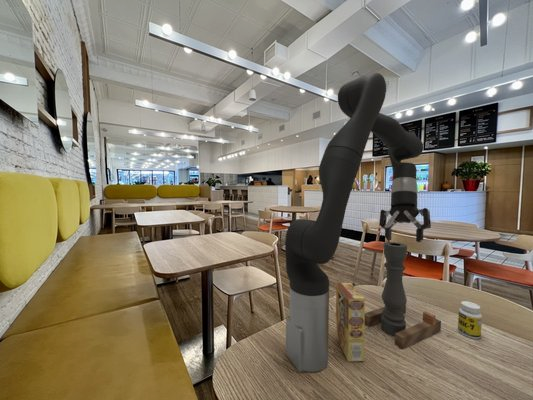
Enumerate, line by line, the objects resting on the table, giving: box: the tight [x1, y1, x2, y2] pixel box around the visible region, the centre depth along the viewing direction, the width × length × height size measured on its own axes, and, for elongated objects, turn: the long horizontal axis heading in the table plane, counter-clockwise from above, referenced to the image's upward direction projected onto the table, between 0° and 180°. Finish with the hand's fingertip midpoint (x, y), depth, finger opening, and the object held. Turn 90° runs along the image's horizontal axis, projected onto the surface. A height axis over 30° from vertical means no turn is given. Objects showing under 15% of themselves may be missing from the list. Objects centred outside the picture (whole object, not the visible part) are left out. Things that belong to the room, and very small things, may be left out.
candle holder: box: [380, 241, 408, 338], centre depth 62 cm, size 6×6×25 cm
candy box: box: [335, 282, 366, 362], centre depth 55 cm, size 9×4×15 cm, turn 1°
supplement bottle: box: [457, 300, 483, 340], centre depth 61 cm, size 5×5×8 cm
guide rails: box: [365, 304, 442, 350], centre depth 64 cm, size 17×13×6 cm
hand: (403, 240), depth 71 cm, fingers open, 8 cm apart
